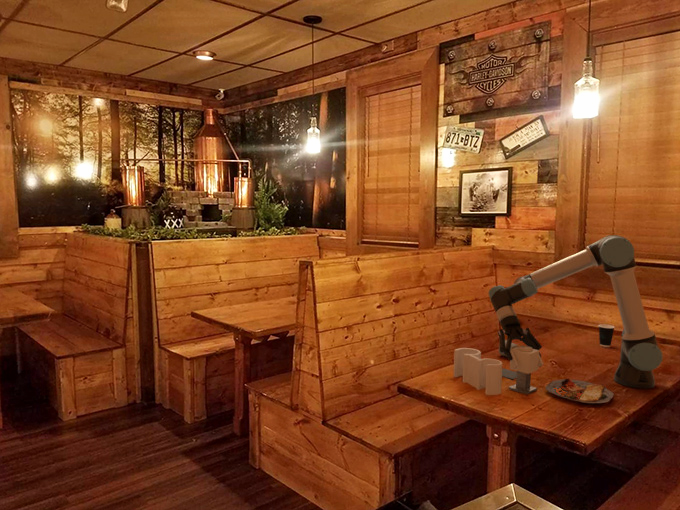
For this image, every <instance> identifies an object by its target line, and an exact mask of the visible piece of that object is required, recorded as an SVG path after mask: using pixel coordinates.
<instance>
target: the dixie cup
mask: <svg viewBox="0 0 680 510" xmlns="http://www.w3.org/2000/svg"><path fill="white" fill-rule="evenodd" d="M597 326H598V334H599V335H598V337H599V346H600V347H602V346H603V348H610V347H611V346H612V341H613V337H614V332H615V327H616V326H614V325H611V324H605V323H604V324H598V325H597Z"/></svg>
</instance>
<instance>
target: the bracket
mask: <svg viewBox="0 0 680 510" xmlns="http://www.w3.org/2000/svg"><path fill="white" fill-rule="evenodd" d="M502 369H503V361H501V360H498V359H497V358H496V359H495V358H490V357H489V358H488V357H487V358H485V357H484V358H482V352H481V351H480V350H478V349H477V348H471V347H469V348H468V347H460V348H455V349H454V353H453V373H452V374H453V375H452V376H453V377H454V378H458V377H462V383H465V384H469V385H470V386H472V387H473V388H476V390H482V389H485V395H486V396H497V395H501V393H502V383H503V382H502V380H503V377H502Z"/></svg>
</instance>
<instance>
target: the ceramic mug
mask: <svg viewBox="0 0 680 510" xmlns="http://www.w3.org/2000/svg"><path fill="white" fill-rule="evenodd" d="M506 343H507V339H505V348H506ZM518 346H519V345H518V344H516V343H513V342H512V343H511V348H510V351H511V349H514V348H517V347H518ZM498 354H499V355H500V356H502V357H506V358H507V355H505V354H504V352H503V353H501V352H500V344H499V346H498Z"/></svg>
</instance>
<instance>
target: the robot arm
mask: <svg viewBox="0 0 680 510" xmlns="http://www.w3.org/2000/svg"><path fill="white" fill-rule="evenodd" d="M636 262H637V261H636V259H635V247H634V245H633V243H632V242H631V241H630V240H628V239H627V238H626V237H624V236H620V235H616V234H611V235H610V234H609V235H607V236H604V237H602V238H600V239H599V240H597V241H595V242H593V243H591V244H589V245H587V246H586V248H585V249H584V250H581V251H579V252H577V253H575V254H572V255H569V256H567V257H565V258H562V259H560V260H559V261H556V262H554V263H551V264H549V265H547V266H545V267H542V268H540V269H538V270H535V271H533V272H531V273H528V274H526V275H524V276H520V277H517V278H516V279H515V280H514V282H513V284H511V285H509V286H506V287H504V286H503V285H499V284H498V285H497V286H496V285H495V286H492V287H491V288H490V289H489V290H488V296H489V299H490V303H491V305H492V307H493V309H494V312H495V315H496V316H497V319H498V321H499V324H500V326H501V328H500V329H499V330H498V332H497V335H498V339H499V340H498V341H499V345H500V352H501V353H503V352H504V354H505V355H507V357H506V358H507V360H508V361H511V364H512V366H513V369H516V368H517V367H518V363H517V361H516V359H515V356H514V354H513V351H510V348H511V343H513V340H519V342H522V343H524V345H525V346H529V347H532V348H533V349H535V350H539V366H538V368H541V367H542V366H543V365H544V361H543V360H542V354H541V352H540V350H541V348H542V347H543V346H542V345H541V343H540V342H539V341H538V340H537V338H536V337H535V336H534V335H533V333H532V332H531V330H530V328H529V327H526V328H523V327H522V326H521V322H520V319H519V318H518V316H517V312H516V311H515V308H514V307H513V305H515V304H516V303H518V302H521V301H523V300H525V299H527V298H530V297H533V296H534V295H536V294H538V289H540V288H543V287H547V286H548V285H550V284H552V283H553V284H554V283H555V282H558V281H559V280H560V281H561V280H562V279H564V278H567V277H569V276H572V275H574V274H577V273H579V272H582V271H583V270H586V269H589V268H591V267H593V266H595V267H600V266H602V267H603V272H604V274H606V275H608V276H609V278H610V281H611V282H610V283H611V284H612V285H611V286H612V289H613V293H614V297H615V300H616V303H617V308H618V310H619V311H618V312H619V315H620V319H621V322H622V326H623V330H622V333H621V346H620V357H619V358H620V359H619V364H618V367H617V368H616V370H615V372H614V377H613V381H614V382H615V383H617V384H619V385H622V386H625V387H630V388H634V389H644V390H645V389H647V390H649V389H652V388H655V386H656V385H655V384H656V383H655V382H656V380H655V376H654V372H653V370H656V369H657V368H659V366H660V365H661V363H662V362H663V358H664V356H663V352H662V350H661V348H660V347H659V344H658V341H657V336H656V333H655V332H654V331H653V330H651V329H650V328H649V324H648V320H647V317H646V313H645V309H644V305H643V302H642V297H641V294H640V291H639V287H638V283H637V279H636V275H635V272H634V271H635V269H636V268H637V263H636ZM506 336H507V337H506ZM506 338H507V339H506ZM505 340H506V341H507V343H506V348H505Z"/></svg>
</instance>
